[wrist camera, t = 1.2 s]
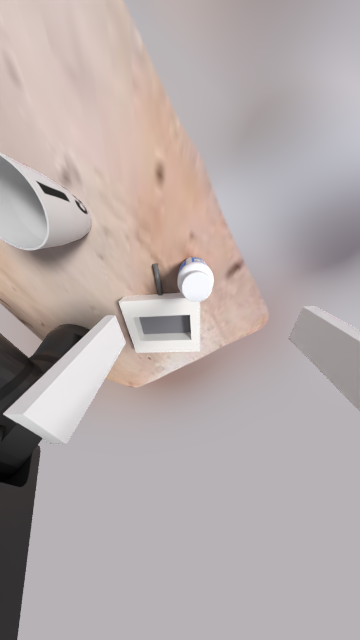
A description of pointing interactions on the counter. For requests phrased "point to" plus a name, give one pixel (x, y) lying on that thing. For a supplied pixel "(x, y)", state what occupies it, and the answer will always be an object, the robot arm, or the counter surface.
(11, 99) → the counter surface
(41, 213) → the cup
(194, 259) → the pill bottle
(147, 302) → the dock
